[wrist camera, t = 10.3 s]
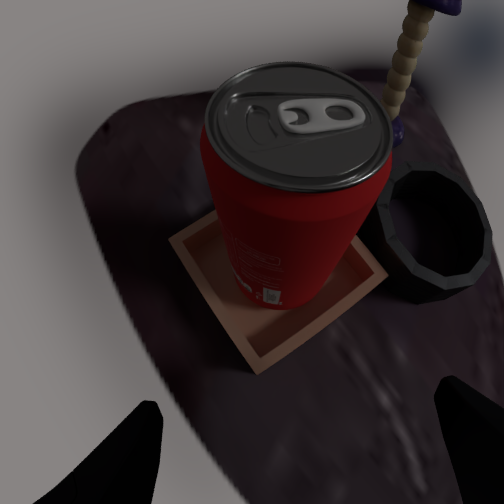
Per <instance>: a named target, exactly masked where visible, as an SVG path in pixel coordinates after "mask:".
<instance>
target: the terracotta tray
mask: <svg viewBox="0 0 504 504" xmlns="http://www.w3.org/2000/svg"><path fill="white" fill-rule="evenodd" d="M168 240H169V242H170V243H171V245H172V247H173V248H174V250H175V252H176V253H177V255H178V257H179V258H180V260H181V262H182V263H183V265H184V266H185V268H186V270H187V271H188V273H189V274H190V276H191V278H192V279H193V281H194V282H195V284H196V286H197V287H198V289H199V290H200V292H201V293H202V295H203V297H204V298H205V300H206V301H207V303H208V304H209V306H210V307H211V309H212V310H213V312H214V314H215V315H216V317H217V318H218V320H219V321H220V323H221V324H222V326H223V327H224V329H225V330H226V332H227V333H228V335H229V336H230V338H231V339H232V341H233V342H234V343H235V345H236V346H237V348H238V349H239V351H240V352H241V354H242V355H243V357H244V358H245V359H246V361H247V362H248V364H249V365H250V367H251V368H252V369H253V371H254V372H255V374H256V375H258V374H260V373H261V372H263V371H264V370H266V369H267V368H269V367H270V366H272V365H273V364H274V363H276V362H277V361H279V360H280V359H282V358H283V357H285V356H286V355H287V354H289V353H290V352H292V351H293V350H294V349H296V348H297V347H299V346H300V345H301V344H303V343H304V342H306V341H307V340H308V339H310V338H311V337H312V336H314V335H315V334H316V333H318V332H319V331H320V330H322V329H323V328H324V327H326V326H327V325H328V324H330V323H331V322H332V321H334V320H335V319H336V318H338V317H339V316H340V315H341V314H343V313H344V312H345V311H346V310H348V309H349V308H350V307H351V306H353V305H354V304H355V303H356V302H358V301H359V300H360V299H361V298H363V297H364V296H365V295H366V294H367V293H369V292H370V291H371V290H372V289H373V288H375V287H376V286H377V285H378V284H379V283H381V282H382V281H383V280H384V279H385V278H386V277H388V276H389V275H388V274H387V273H386V271H385V270H384V269H383V267H382V266H381V265H380V264H379V262H378V261H377V260H376V259H375V257H374V256H373V255H372V254H371V252H370V251H369V250H368V249H367V248H366V246H365V245H364V244H363V243H362V242H361V240H360V239H359V238H358V237H357V236H356V235H355V236H354V238H353V240H352V241H351V243H350V244H349V246H348V248H347V249H346V251H345V252H344V254H343V255H342V257H341V259H340V260H339V262H338V263H337V265H336V266H335V268H334V269H333V271H332V272H331V274H330V275H329V277H328V278H327V280H326V281H325V283H324V284H323V286H322V287H321V289H320V290H319V292H318V293H317V294H316V295H315V296H314V297H313V298H312V299H311V300H310V301H308V302H307V303H305V304H304V305H302V306H299V307H297V308H294V309H289V310H272V309H268V308H264V307H262V306H259V305H258V304H256V303H254V302H253V301H251V300H250V299H249V298H247V297H246V296H245V295H244V293H243V292H242V291H241V289H240V288H239V286H238V284H237V282H236V280H235V277H234V274H233V270H232V267H231V263H230V260H229V256H228V252H227V249H226V245H225V242H224V238H223V235H222V231H221V227H220V224H219V220H218V216H217V213H216V210H214V211H212V212H211V213H209V214H207V215H206V216H204V217H202V218H201V219H199V220H198V221H196V222H194V223H193V224H191V225H189V226H188V227H186V228H185V229H183V230H181V231H180V232H178V233H177V234H175V235H173V236H172V237H170V238H169V239H168Z"/></svg>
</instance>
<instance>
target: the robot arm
mask: <svg viewBox="0 0 504 504" xmlns="http://www.w3.org/2000/svg"><path fill="white" fill-rule="evenodd" d="M434 402H435V405H436V409H437V413H438V417H439V422H440V426H441V430H442V434H443V438H444V441H445V444H446V447H447V450H448V453H449V456H450V459H451V462H452V466H453V469H454V472H455V475H456V479H457V482H458V486H459V489H460V493H461V497H462V501H463V504H504V408H502V407H501V406H499V405H498V404H496V403H495V402H493V401H492V400H490V399H489V398H487V397H486V396H484V395H483V394H481V393H480V392H478V391H477V390H475V389H474V388H472V387H470V386H469V385H467V384H466V383H464V382H463V381H461V380H460V379H458V378H457V377H455V376H453V375H451V376H447V377H444V378H442V379H441V381H440V383H439V385H438V387H437V390H436V392H435V394H434ZM162 432H163V416H162V414H161V412H160V409H159V407H158V404H157V403H156V402H155V401H146V400H144V401H142V402H141V403H140V404H139V405H138V406H137V407H136V408H135V409H134V410H133V411H132V412H131V413H130V414H129V415H128V416H127V417H126V418H125V419H124V420H123V421H122V422H121V423H120V424H119V425H118V426H117V427H116V428H115V429H114V430H113V431H112V432H111V433H110V434H109V435H108V436H107V437H106V438H105V439H104V440H103V441H102V442H101V443H100V444H99V445H98V446H97V447H96V448H95V449H94V450H93V451H92V452H91V453H90V454H89V455H88V456H87V457H86V458H85V459H84V460H83V461H82V462H81V463H80V464H79V465H78V466H77V467H76V468H75V469H74V470H73V471H72V472H71V473H70V474H68V475H67V477H65V478H64V479H63V480H62V481H61V482H60V483H59V484H58V485H57V486H55V487H54V488H53V489H52V490H51V491H49V492H48V493H47V494H46V495H44V496H43V497H41V498H40V499H39V500H37V501H36V502H34V503H33V504H151V502H152V497H153V493H154V488H155V483H156V478H157V474H158V469H159V464H160V453H161V442H162Z"/></svg>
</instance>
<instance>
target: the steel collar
mask: <svg viewBox="0 0 504 504" xmlns="http://www.w3.org/2000/svg"><path fill="white" fill-rule="evenodd" d="M395 198H416V199H418V200H420V201H422V202H424V203H426V204H428V205H430V206H432V207H434V208H436V209H437V211H438V212H439V213H440V214H441V215H442V216H443V218H444V219H445V220H446V221H447V223H448V224H449V225H450V226H451V228H452V231H453V234H454V237H455V240H456V244H457V247H458V251H459V252H458V258H457V265H456V270H455V274H454V275H453V276H449V277H444V276H442V275H440V274H438V273H436V272H434V271H432V270H430V269H428V268H426V267H424V266H422V265H420V264H418V263H417V262H416V261H415V259H414V258H413V257H412V255H411V254H410V253H409V252H408V250H407V249H406V248H405V247H404V245H403V244H402V243H401V242H400V241H399V239H398V238H397V236H396V233H395V229H394V225H393V222H392V218H391V214H390V211H389V208H388V206H389V202H390V201H391V200H392V199H395ZM360 234H361V238H362V243H363V244H364V245H365V246H366V248H367V249H368V250H369V251H370V252H371V254H372V255H373V256H374V257H375V259H376V260H377V261H378V262H379V264H380V265H381V266H382V267H383V269H384V270H385V271H386V273H387V274H388V275H389V276H388V277H386V278H385V279H384V280H383V281H382V284H383V285H384V286H385V287H386V289H387V290H388V291H389V292H391V293H393V294H395V295H398V296H400V297H402V298H404V299H407V300H409V301H411V302H413V303H415V304H417V305H418V304H423V303H429V302H434V301H440V300H445V299H447V298H449V297H451V296H453V295H455V294H457V293H459V292H461V291H463V290H464V289H466V288H468V287H470V286H472V285H474V283H475V282H476V281H477V280H478V278H479V277H480V276H481V274H482V273H483V272H484V270H485V269H486V268H487V266H488V265H489V264H490V260H491V248H492V230H491V227H490V224H489V221H488V219H487V215H486V213H485V210H484V208H483V205H482V202H481V201H480V200H479V198H478V197H477V196H476V195H475V194H474V192H473V191H472V190H471V189H470V188H469V186H468V185H467V184H466V183H465V182H464V181H463V180H462V178H461V177H459V176H457V175H456V174H454V173H452V172H450V171H448V170H447V169H445V168H443V167H441V166H439V165H437V164H435V163H433V162H410V161H406V162H404V163H403V164H401V165H400V166H398V167H397V168H395V169H394V170H392V171H391V172H390V175H389V178H388V180H387V182H386V184H385V186H384V188H383V190H382V191H381V193H380V195H379V197H378V198H377V200H376V202H375V203H374V205H373V207H372V208H371V210H370V212H369V213H368V215H367V217H366V218H365V220H364V222H363V224H362V227H361V230H360Z"/></svg>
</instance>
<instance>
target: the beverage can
mask: <svg viewBox="0 0 504 504" xmlns="http://www.w3.org/2000/svg"><path fill="white" fill-rule="evenodd" d="M392 146H393V129H392V124H391V121H390V118H389V116H388V114H387V112H386V110H385V108H384V107H383V105H382V104H381V102H380V101H379V100H378V99H377V98H376V97H375V95H374V94H373V93H371V92H370V91H369V90H368V89H367V88H366V87H365V86H363V85H362V84H360V83H359V82H357V81H356V80H354V79H353V78H351V77H349V76H347V75H345V74H343V73H341V72H339V71H336V70H334V69H331V68H329V67H325V66H321V65H316V64H311V63H303V62H276V63H268V64H263V65H259V66H255V67H252V68H249V69H247V70H244V71H242V72H240V73H238V74H236V75H234V76H233V77H231V78H230V79H228V80H227V81H225V82H224V83H223V84H222V85H221V86H220V87H219V88H218V89H217V90H216V91H215V92H214V94H213V95H212V97H211V99H210V101H209V103H208V105H207V108H206V112H205V123H204V126H203V129H202V132H201V138H200V150H201V156H202V161H203V164H204V168H205V172H206V176H207V180H208V183H209V187H210V191H211V194H212V198H213V202H214V205H215V209H216V213H217V216H218V220H219V224H220V227H221V231H222V235H223V238H224V242H225V245H226V249H227V252H228V256H229V260H230V263H231V267H232V270H233V274H234V277H235V280H236V282H237V284H238V286H239V288H240V289H241V291H242V292H243V293H244V295H245V296H246V297H247V298H249V299H250V300H251V301H253V302H254V303H256V304H258V305H259V306H262V307H264V308H268V309H272V310H289V309H294V308H297V307H299V306H302V305H304V304H305V303H307V302H308V301H310V300H311V299H312V298H313V297H314V296H315V295H316V294H317V293H318V292H319V290H320V289H321V287H322V286H323V284H324V283H325V281H326V280H327V278H328V277H329V275H330V274H331V272H332V271H333V269H334V268H335V266H336V265H337V263H338V262H339V260H340V259H341V257H342V255H343V254H344V252H345V251H346V249H347V248H348V246H349V244H350V243H351V241H352V240H353V238H354V236H355V235H356V233H357V232H358V230H359V228H360V227H361V225H362V223H363V222H364V220H365V218H366V217H367V215H368V213H369V212H370V210H371V208H372V207H373V205H374V203H375V202H376V200H377V198H378V197H379V195H380V193H381V191H382V190H383V188H384V186H385V184H386V182H387V180H388V178H389V175H390V171H391V166H392V151H391V150H392Z"/></svg>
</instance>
